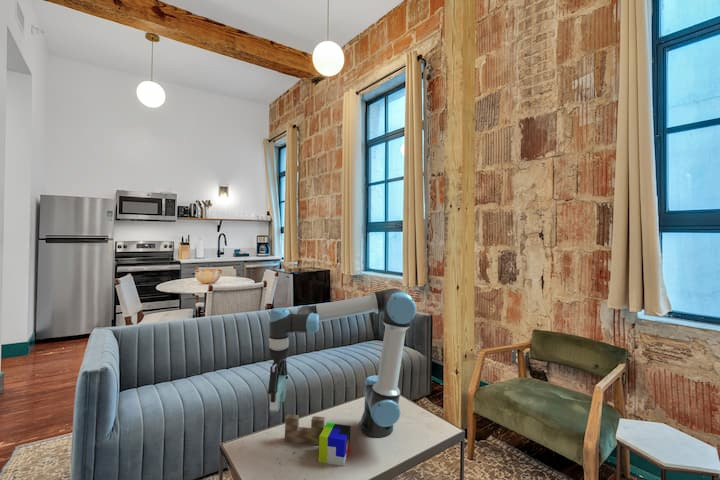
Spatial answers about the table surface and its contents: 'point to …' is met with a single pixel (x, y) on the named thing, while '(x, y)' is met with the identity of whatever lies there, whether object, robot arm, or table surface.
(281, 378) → the notched teal block
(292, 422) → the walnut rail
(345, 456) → the puzzle toy
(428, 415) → the table surface
